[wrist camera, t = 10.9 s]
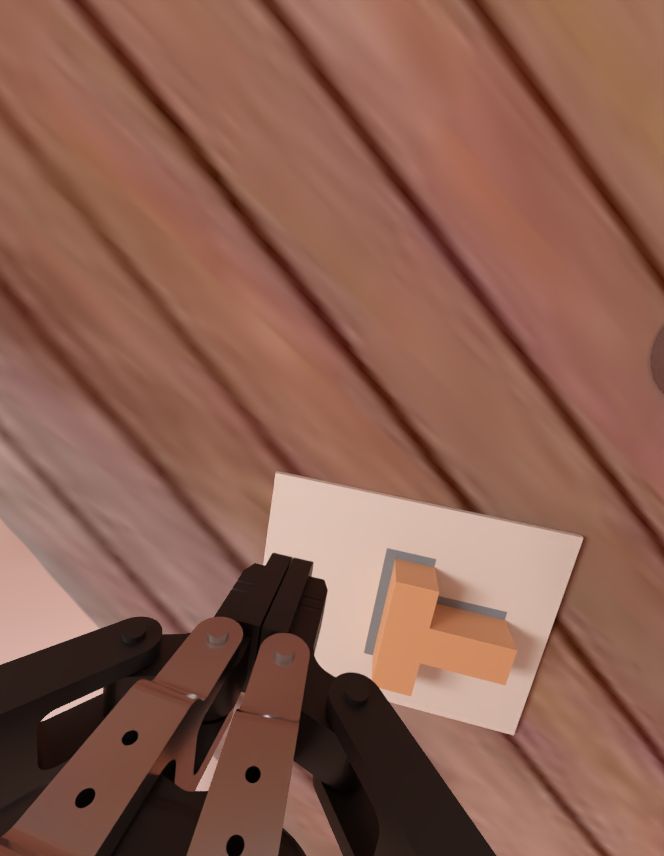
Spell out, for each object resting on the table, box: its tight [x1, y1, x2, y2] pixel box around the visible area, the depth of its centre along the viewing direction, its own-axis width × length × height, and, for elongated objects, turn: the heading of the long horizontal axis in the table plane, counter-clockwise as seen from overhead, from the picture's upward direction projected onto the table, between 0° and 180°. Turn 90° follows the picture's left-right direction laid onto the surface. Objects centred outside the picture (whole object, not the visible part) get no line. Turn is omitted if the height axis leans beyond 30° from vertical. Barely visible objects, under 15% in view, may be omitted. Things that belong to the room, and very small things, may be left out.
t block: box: [371, 558, 517, 696], centre depth 38 cm, size 12×12×4 cm
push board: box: [263, 471, 583, 735], centre depth 41 cm, size 30×24×1 cm
